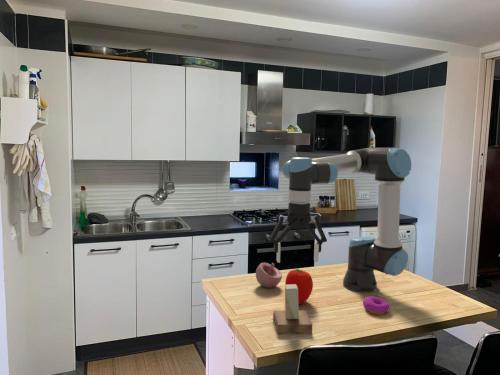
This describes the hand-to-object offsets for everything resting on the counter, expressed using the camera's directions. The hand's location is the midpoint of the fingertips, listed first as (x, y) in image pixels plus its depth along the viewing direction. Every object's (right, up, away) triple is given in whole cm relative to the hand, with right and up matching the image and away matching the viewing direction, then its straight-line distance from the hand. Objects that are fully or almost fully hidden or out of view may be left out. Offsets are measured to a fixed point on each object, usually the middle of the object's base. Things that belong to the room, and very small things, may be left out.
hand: (297, 261), depth 135 cm
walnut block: (-2, -24, +2) cm, 24 cm away
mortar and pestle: (-8, -19, +39) cm, 44 cm away
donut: (+33, -23, +18) cm, 44 cm away
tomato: (+3, -22, +23) cm, 32 cm away
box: (-2, -20, +1) cm, 20 cm away
